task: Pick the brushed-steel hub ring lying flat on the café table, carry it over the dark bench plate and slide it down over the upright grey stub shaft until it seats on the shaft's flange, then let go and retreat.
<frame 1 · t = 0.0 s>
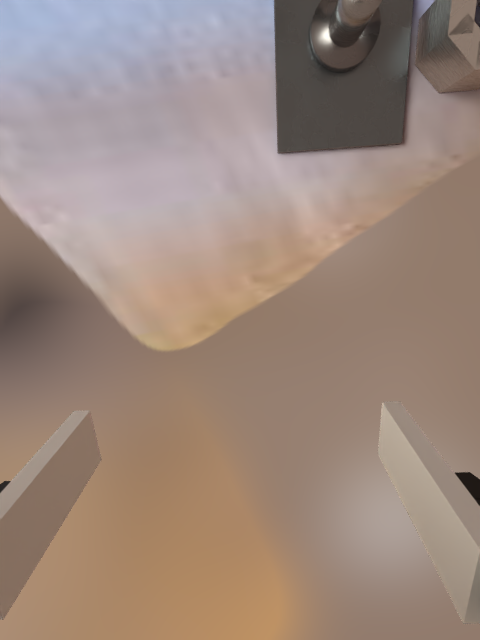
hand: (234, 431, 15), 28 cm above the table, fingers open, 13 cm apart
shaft: (340, 37, 33), on the table
hub: (464, 38, 33), on the table
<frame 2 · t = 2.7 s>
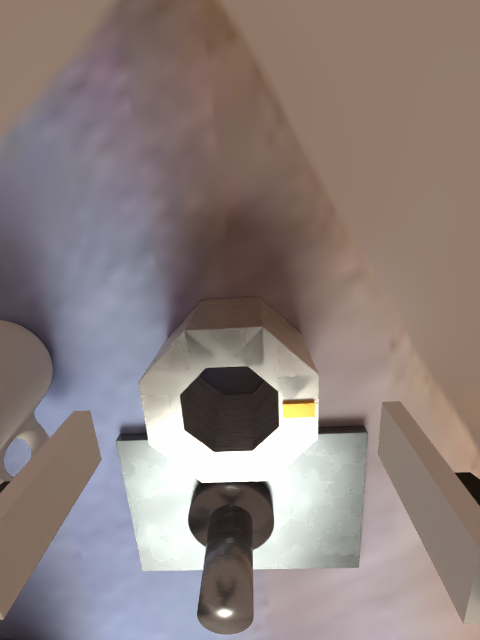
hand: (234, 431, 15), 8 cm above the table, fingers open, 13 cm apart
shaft: (232, 500, 26), on the table
hub: (235, 361, 23), on the table
cup: (28, 374, 24), on the table
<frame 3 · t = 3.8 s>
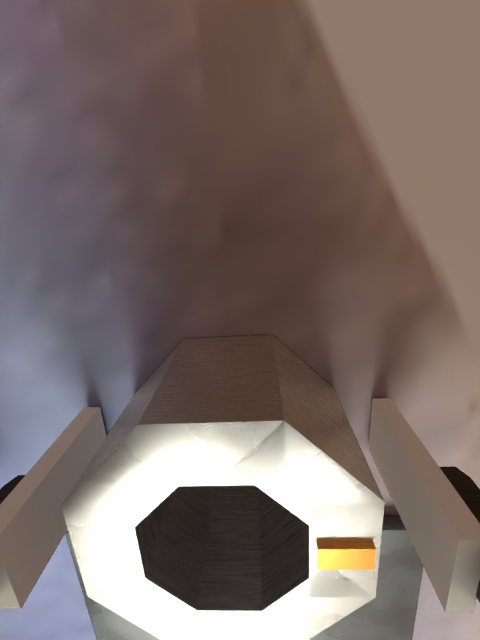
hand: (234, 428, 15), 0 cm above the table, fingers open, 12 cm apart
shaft: (231, 603, 19), on the table
hub: (234, 426, 15), on the table
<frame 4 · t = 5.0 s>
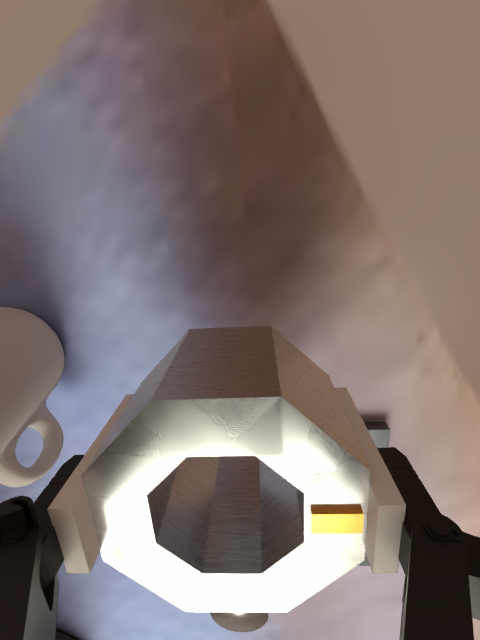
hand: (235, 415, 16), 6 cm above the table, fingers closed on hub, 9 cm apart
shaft: (246, 493, 26), on the table
hub: (236, 412, 17), point 6 cm above the table, touching gripper
cup: (40, 362, 23), on the table
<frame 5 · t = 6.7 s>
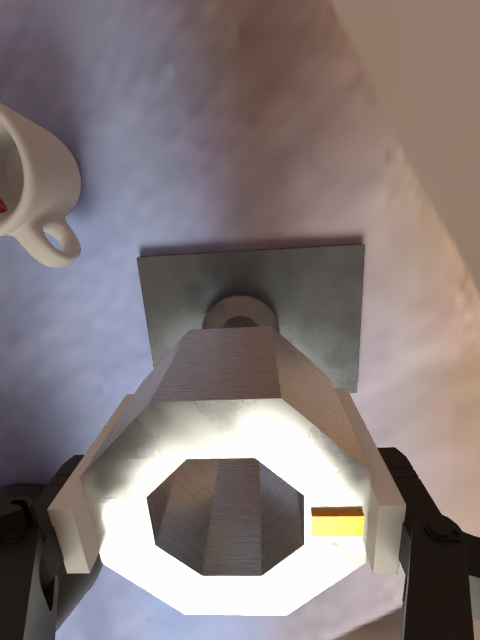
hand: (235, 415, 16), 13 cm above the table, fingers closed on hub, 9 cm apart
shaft: (241, 326, 29), on the table
hub: (236, 413, 16), point 13 cm above the table, touching gripper
cup: (58, 195, 26), on the table
when the fingers open (3 cm above the table, at t = 8.8 s): hub stays where it is, resting on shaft.
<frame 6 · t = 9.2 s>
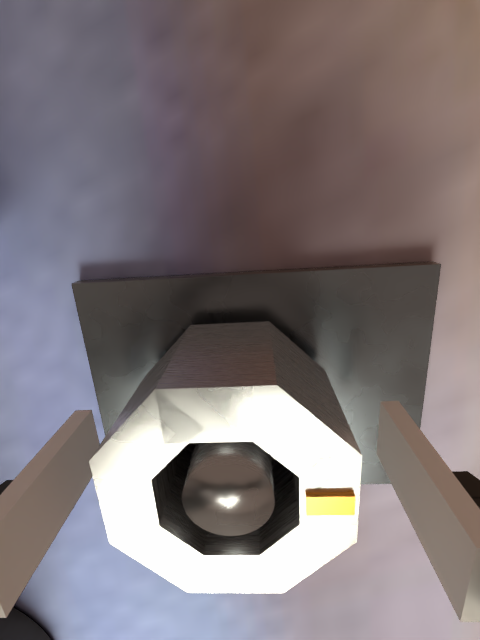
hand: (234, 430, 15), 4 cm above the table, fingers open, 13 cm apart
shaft: (238, 385, 19), on the table
hub: (235, 405, 17), point 2 cm above the table, touching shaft
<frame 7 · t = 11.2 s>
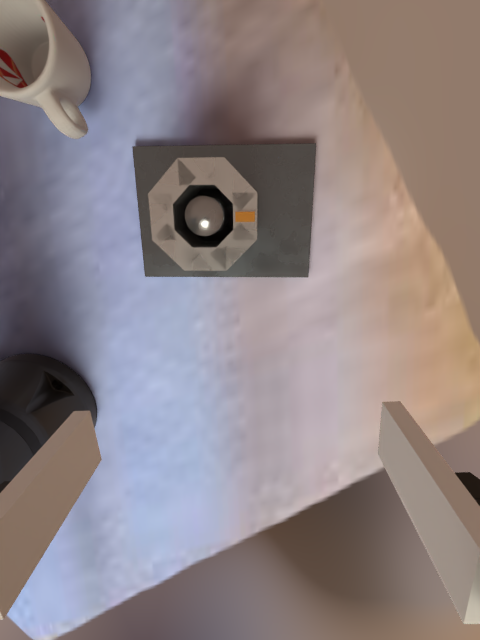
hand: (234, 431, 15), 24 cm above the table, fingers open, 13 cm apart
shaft: (215, 214, 35), on the table
hub: (212, 215, 33), point 2 cm above the table, touching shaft
cup: (71, 91, 33), on the table
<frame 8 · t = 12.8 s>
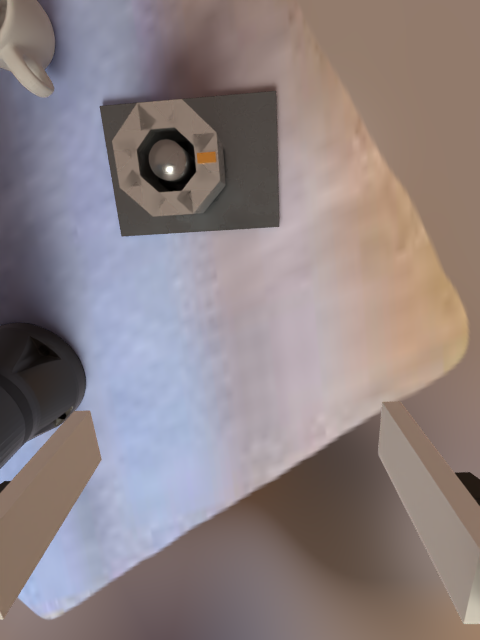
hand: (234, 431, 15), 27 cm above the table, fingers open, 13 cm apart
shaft: (185, 170, 36), on the table
hub: (181, 168, 34), point 2 cm above the table, touching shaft
cup: (38, 56, 34), on the table
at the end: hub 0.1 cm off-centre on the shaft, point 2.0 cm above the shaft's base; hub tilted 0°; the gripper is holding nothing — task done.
